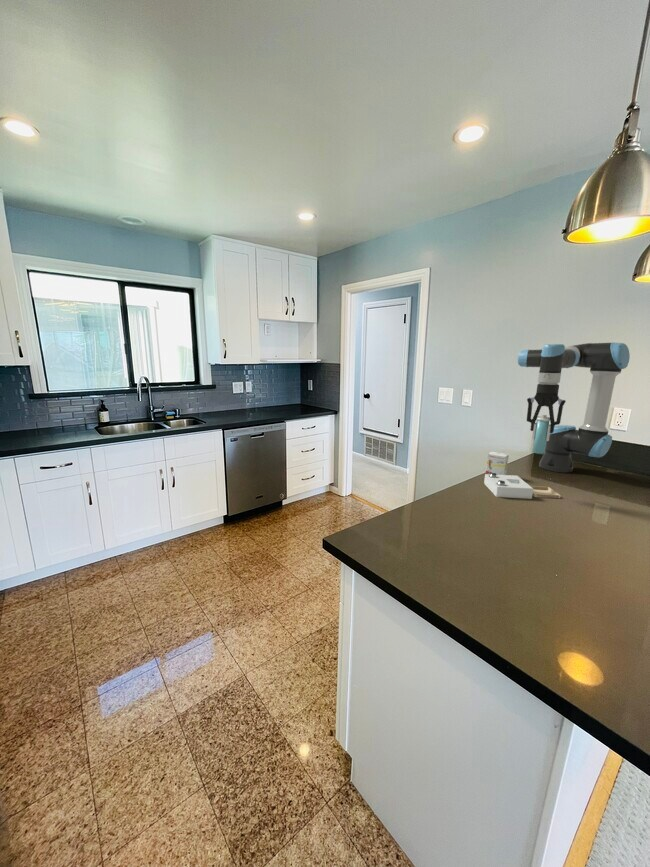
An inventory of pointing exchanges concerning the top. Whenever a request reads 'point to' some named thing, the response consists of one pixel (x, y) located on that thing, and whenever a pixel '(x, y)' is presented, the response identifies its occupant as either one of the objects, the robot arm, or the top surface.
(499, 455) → the ink box
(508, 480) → the housing
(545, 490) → the tray
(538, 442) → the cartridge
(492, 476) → the plunger
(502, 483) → the plunger
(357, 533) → the top surface
